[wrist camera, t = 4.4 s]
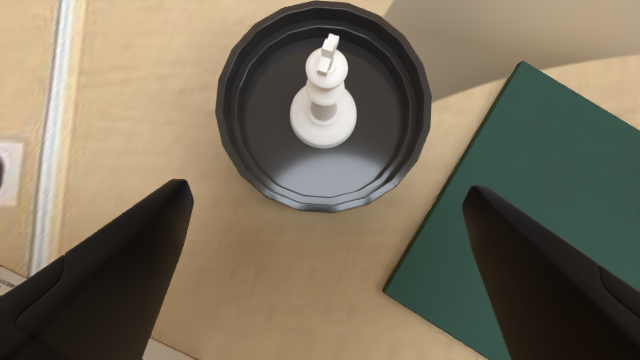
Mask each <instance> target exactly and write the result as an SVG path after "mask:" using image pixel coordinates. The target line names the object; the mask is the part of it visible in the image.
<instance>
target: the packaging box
mask: <svg viewBox="0 0 640 360" xmlns="http://www.w3.org/2000/svg"><path fill="white" fill-rule="evenodd" d="M25 280H27V279H26V278H24V277H22V276H20V275H18V274H16V273H14V272H12V271H10V270H8V269H6V268H3V267H1V266H0V296H1V295H3V294H5V293H6V292H8V291H9V290H11V289H13V288H14V287H16V286H17V285H19V284H20V283H22V282H24V281H25ZM142 360H195V359H193V358H191V357H189V356H187V355H185V354H183V353H181V352H179V351H177V350H175V349H173V348H170V347H168V346H166V345H164V344H162V343H160V342H158V341H156V340H154V339H152V338H150V339H149V341H148V344H147V347H146V349H145V352H144V355H143V358H142Z"/></svg>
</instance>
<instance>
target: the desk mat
mask: <svg viewBox="0 0 640 360" xmlns="http://www.w3.org/2000/svg"><path fill="white" fill-rule="evenodd" d="M473 185H485V186H487V187H489V188H490V189H492V190H493V191H495V192H496V193H498V194H499V195H500V196H502V197H503V198H505V199H506V200H508V201H509V202H511V203H512V204H513V205H515V206H516V207H518V208H519V209H521V210H522V211H524V212H525V213H526V214H528V215H529V216H531V217H532V218H534V219H535V220H536V221H538V222H539V223H541V224H542V225H544V226H545V227H547V228H548V229H549V230H551V231H552V232H554V233H555V234H557V235H558V236H560V237H561V238H562V239H564V240H565V241H567V242H568V243H570V244H571V245H573V246H574V247H575V248H577V249H578V250H580V251H581V252H583V253H584V254H586V255H587V256H588V257H590V258H591V259H593V260H594V261H596V262H597V263H598V265H602V266H603V267H604V268H606V269H607V270H609V271H610V272H612V273H613V274H614V275H616V276H617V277H619V278H620V279H622V280H623V281H625V282H626V283H628V284H629V285H631V286H632V287H634V288H635V289H637V290H638V291H640V131H639V130H638V129H636V128H634V127H633V126H631V125H629V124H628V123H626V122H624V121H623V120H621V119H619V118H618V117H616V116H614V115H613V114H611V113H609V112H608V111H606V110H604V109H603V108H601V107H599V106H598V105H596V104H594V103H593V102H591V101H589V100H588V99H586V98H584V97H583V96H581V95H579V94H578V93H576V92H574V91H573V90H571V89H569V88H568V87H566V86H564V85H563V84H561V83H559V82H558V81H556V80H554V79H553V78H551V77H549V76H548V75H546V74H544V73H543V72H541V71H539V70H538V69H536V68H534V67H532V66H531V65H529V64H528V63H526V62H524V61H521V62H520V63H519V64H517V66H516V68H515V69H514V71H513V73H512V74H511V76H510V78H509V79H508V81H507V83H506V84H505V86H504V88H503V89H502V91H501V93H500V94H499V96H498V98H497V99H496V101H495V103H494V105H493V106H492V108H491V110H490V111H489V113H488V115H487V116H486V118H485V120H484V121H483V123H482V125H481V126H480V128H479V130H478V131H477V133H476V135H475V136H474V138H473V140H472V141H471V143H470V145H469V146H468V148H467V150H466V152H465V153H464V155H463V157H462V158H461V160H460V162H459V163H458V165H457V167H456V168H455V170H454V172H453V173H452V175H451V177H450V178H449V180H448V182H447V183H446V185H445V187H444V188H443V190H442V192H441V193H440V195H439V197H438V199H437V200H436V202H435V204H434V205H433V207H432V209H431V210H430V212H429V214H428V215H427V217H426V219H425V220H424V222H423V224H422V225H421V227H420V229H419V230H418V232H417V234H416V235H415V237H414V239H413V241H412V242H411V244H410V246H409V247H408V249H407V251H406V252H405V254H404V256H403V257H402V259H401V261H400V262H399V264H398V266H397V267H396V269H395V271H394V272H393V274H392V276H391V277H390V279H389V281H388V282H387V284H386V286H385V288H384V289H383V292H384V293H385V294H386V295H388V296H390V297H391V298H393V299H394V300H396V301H397V302H399V303H401V304H402V305H404V306H405V307H407V308H408V309H410V310H412V311H413V312H415V313H416V314H418V315H419V316H421V317H423V318H424V319H426V320H427V321H429V322H431V323H432V324H434V325H435V326H437V327H438V328H440V329H442V330H443V331H445V332H446V333H448V334H449V335H451V336H453V337H454V338H456V339H457V340H459V341H460V342H462V343H464V344H465V345H467V346H468V347H470V348H471V349H473V350H475V351H476V352H478V353H479V354H481V355H483V356H484V357H486V358H487V359H489V360H511V358H510V356H509V353H508V350H507V347H506V345H505V342H504V339H503V336H502V334H501V331H500V328H499V325H498V322H497V320H496V317H495V314H494V311H493V309H492V306H491V303H490V300H489V298H488V295H487V292H486V289H485V287H484V284H483V281H482V278H481V276H480V273H479V270H478V267H477V265H476V262H475V259H474V256H473V253H472V250H471V246H470V242H469V238H468V233H467V229H466V225H465V221H464V216H463V212H462V203H463V201H464V199H465V197H466V195H467V193H468V190H469V188H470V187H471V186H473Z"/></svg>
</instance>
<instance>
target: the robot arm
mask: <svg viewBox="0 0 640 360" xmlns="http://www.w3.org/2000/svg"><path fill="white" fill-rule="evenodd" d="M193 204H194V199H193V196H192V193H191V190H190V187H189V184H188V182H187V181H186V180H185V179H172V180H170V181H168V182H167V183H166V184H164V185H163V186H161V187H160V188H158V189H157V190H156V191H154V192H153V193H151V194H150V195H148V196H147V197H145V198H144V199H143V200H141V201H140V202H138V203H137V204H135V205H134V206H133V207H131V208H130V209H128V210H127V211H125V212H124V213H122V214H121V215H120V216H118V217H117V218H115V219H114V220H112V221H111V222H110V223H108V224H107V225H105V226H104V227H102V228H101V229H99V230H98V231H97V232H95V233H94V234H92V235H91V236H89V237H88V238H87V239H85V240H84V241H82V242H81V243H79V244H78V245H76V246H75V247H74V248H72V249H71V250H69V251H68V252H66V253H65V256H64V255H62V256H61V257H59V258H58V259H56V260H55V261H53V262H52V263H50V264H49V265H48V266H46V267H45V268H43V269H42V270H40V271H39V272H37V273H36V274H34V275H33V276H31V277H30V278H28V279H27V280H25V281H24V282H22V283H20V284H19V285H17V286H16V287H14V288H13V289H11V290H9V291H8V292H6V293H5V294H3V295H1V296H0V360H142V358H143V355H144V352H145V349H146V347H147V344H148V341H149V339H150V336H151V333H152V330H153V328H154V325H155V322H156V320H157V317H158V314H159V312H160V309H161V306H162V303H163V301H164V298H165V295H166V293H167V290H168V287H169V285H170V282H171V279H172V276H173V274H174V271H175V268H176V266H177V263H178V260H179V258H180V255H181V252H182V249H183V246H184V242H185V238H186V234H187V230H188V226H189V221H190V217H191V213H192V209H193ZM462 212H463V216H464V221H465V225H466V229H467V233H468V238H469V242H470V246H471V250H472V253H473V256H474V259H475V262H476V265H477V267H478V270H479V273H480V276H481V278H482V281H483V284H484V287H485V289H486V292H487V295H488V298H489V300H490V303H491V306H492V309H493V311H494V314H495V317H496V320H497V322H498V325H499V328H500V331H501V334H502V336H503V339H504V342H505V345H506V347H507V350H508V353H509V356H510V358H511V360H640V291H638V290H637V289H635V288H634V287H632V286H631V285H629V284H628V283H626V282H625V281H623V280H622V279H620V278H619V277H617V276H616V275H614V274H613V273H612V272H610V271H609V270H607V269H606V268H604V267H603V266H602V265H598V263H597V262H596V261H594V260H593V259H591V258H590V257H588V256H587V255H586V254H584V253H583V252H581V251H580V250H578V249H577V248H575V247H574V246H573V245H571V244H570V243H568V242H567V241H565V240H564V239H562V238H561V237H560V236H558V235H557V234H555V233H554V232H552V231H551V230H549V229H548V228H547V227H545V226H544V225H542V224H541V223H539V222H538V221H536V220H535V219H534V218H532V217H531V216H529V215H528V214H526V213H525V212H524V211H522V210H521V209H519V208H518V207H516V206H515V205H513V204H512V203H511V202H509V201H508V200H506V199H505V198H503V197H502V196H500V195H499V194H498V193H496V192H495V191H493V190H492V189H490V188H489V187H487V186H485V185H473V186H471V187H470V188H469V190H468V193H467V195H466V197H465V199H464V201H463V203H462Z"/></svg>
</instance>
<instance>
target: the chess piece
mask: <svg viewBox="0 0 640 360" xmlns="http://www.w3.org/2000/svg"><path fill="white" fill-rule="evenodd" d="M338 42H339V36H336V35H333V34H329V37H328V39H325V41H324V44H323V47H322V48H319V49H317V50H315V51H314V52H313V53H311V55H310V56H309V57H308V59H307V62H306V74H307V77H308V80H307V83H306V86H304V87H303V88H302V89H301V90H300V91H299V92H298V93H297V94H296V96H295V97H294V99H293V101H292V104H291V109H290V122H291V126H292V128H293V130H294V132H295V134H296V135H297V136H298V138H299V139H300V140H302V141H303V142H304V143H306V144H307V145H310V146H312V147H315V148H331V147H335V146H337V145H339V144H341V143H342V142H344V141H345V140H346V139H347V138H348V137H349V136H350V135H351V133H352V132H353V130H354V127H355V124H356V119H357V111H356V105H355V102H354V100H353V98H352V96H351V95H350V93H349V92H348V91H347V90H346V89H345V85H344V80H345V78H346V76H347V72H348V64H347V61H346V58H345V57H344V55H343V54H342V53H341V52H340V51H338V50H336V48H337V45H338Z"/></svg>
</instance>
